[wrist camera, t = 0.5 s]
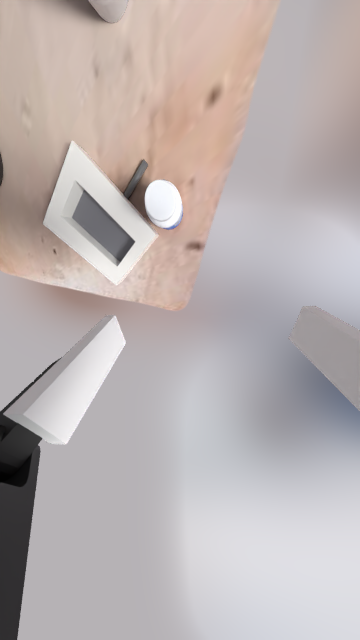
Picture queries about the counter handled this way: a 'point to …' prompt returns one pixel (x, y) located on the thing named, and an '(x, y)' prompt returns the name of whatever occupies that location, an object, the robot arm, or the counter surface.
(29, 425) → the robot arm
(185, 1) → the counter surface
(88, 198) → the dock
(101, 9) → the cup
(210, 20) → the counter surface
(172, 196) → the pill bottle
